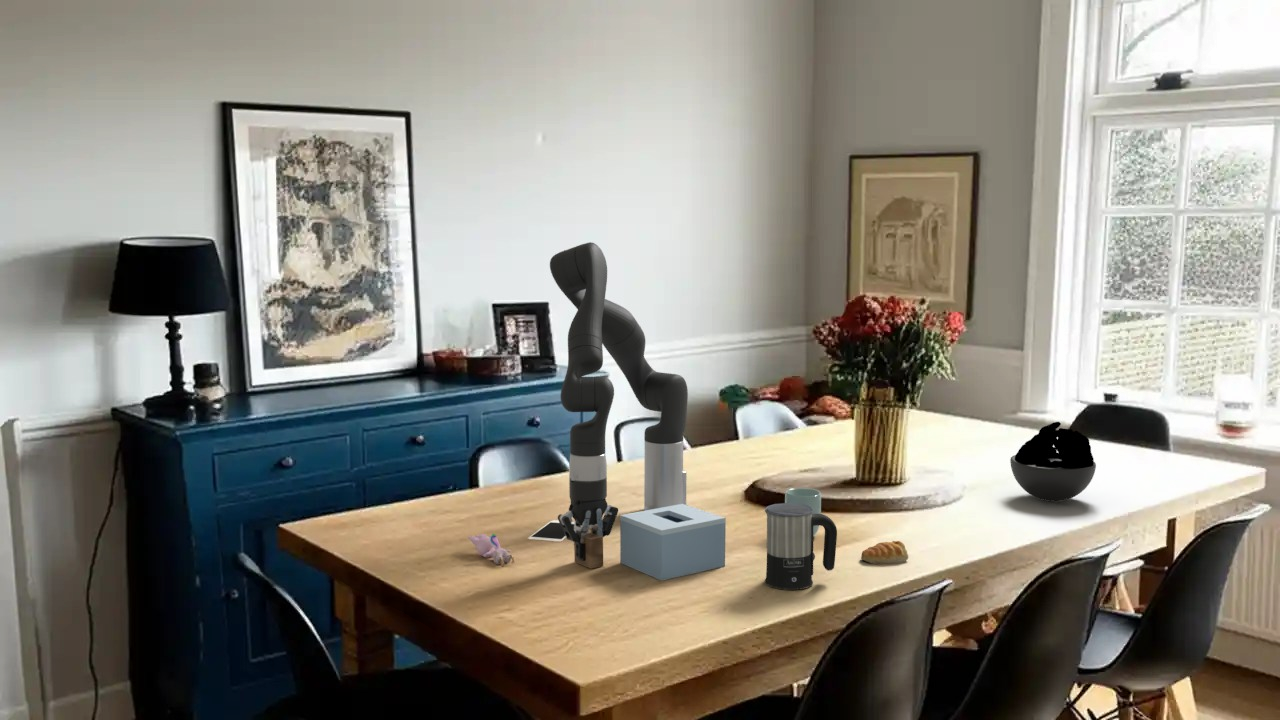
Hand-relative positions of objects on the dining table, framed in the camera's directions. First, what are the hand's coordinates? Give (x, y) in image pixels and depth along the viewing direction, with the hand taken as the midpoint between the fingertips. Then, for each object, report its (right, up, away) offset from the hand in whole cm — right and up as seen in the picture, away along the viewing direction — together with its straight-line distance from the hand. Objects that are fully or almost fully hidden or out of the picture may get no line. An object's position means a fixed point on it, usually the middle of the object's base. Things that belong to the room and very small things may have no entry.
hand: (588, 558), depth 237 cm
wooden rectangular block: (0, -1, 0) cm, 1 cm away
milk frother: (+40, -3, -7) cm, 41 cm away
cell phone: (-8, +1, +25) cm, 26 cm away
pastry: (+61, -1, +4) cm, 61 cm away
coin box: (+17, -1, 0) cm, 17 cm away
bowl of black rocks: (+112, +5, +54) cm, 125 cm away
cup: (+46, +1, +21) cm, 51 cm away
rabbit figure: (-21, -1, +5) cm, 21 cm away
